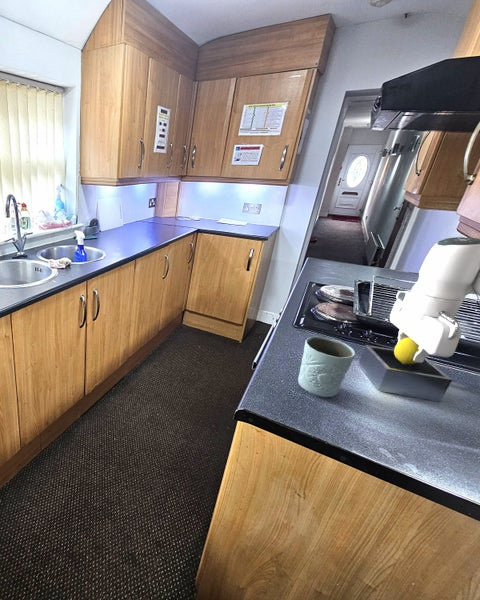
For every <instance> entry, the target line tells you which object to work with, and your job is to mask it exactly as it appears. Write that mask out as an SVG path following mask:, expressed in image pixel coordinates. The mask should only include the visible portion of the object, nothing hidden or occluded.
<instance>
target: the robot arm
mask: <svg viewBox="0 0 480 600" xmlns="http://www.w3.org/2000/svg"><path fill="white" fill-rule="evenodd" d="M468 295H477V296H478V297H480V238H478V237H477V238H476V237H465V236H461V237H460V236H456V237H455V236H454V237H448V238H445V239H440V240H439V241H438V242H436V243H434V245H433V246H432V247H431V249H430V250H429V252H428V254H427V255H426V257H425V258H424V260H423V262H422V265H421V266H420V269H419V272H418V279H417V281H416V283H414V285H413V286H412V287H411V290H409V291H408V290H398V291H397V293H396V297H395V298H396V300H395V302H394V304H393V306H392V309H391V312H390V315H389V321H390V322H389V323H391V324H392V325H393V326H394V327H396V328H397V329H399V331H398V341H397V343H398V342H399V341H400V340H402V339H404V338H408V337H410V338H411V339H412V340H413V341H414V342H416V343H417V344H418V345H419V348H418V349H419V351H418V352H417V353H413V354H412V356H411V358H412V359H413V360H414V361H415V362H420V363H422V362H423V361H424V359H425V357H426V358H427V357H428V356H429V355H430V356H434V357H439V358H450V357H452V356H453V355H454V353H455V352H456V349H457V348H458V347H457V346H458V344H459V341H460V338H461V336H462V329H461V327H460V326H459V320H458V319H457V318H456V316H457V314H458V313H459V310H460V308H461V306H462V304H463V303H464V300H465V299H466V296H468Z"/></svg>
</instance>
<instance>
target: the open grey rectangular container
mask: <svg viewBox="0 0 480 600" xmlns="http://www.w3.org/2000/svg"><path fill="white" fill-rule="evenodd" d="M394 349H395V348H388V347H382V346H381V347H380V346H375V345H374V346H373V345H367V344H365V346H364V349H363V351H362V354H361V356H360V358H359V361H358V362H357V363H358V364H357V366H358V367H359V368H360V369H361V371H362V372H363V374H364V375H365V376H366V378H367V379H368V380H369V381H370V383H372V385H373V386H374V388H375V389H376V390H377V391H379V392H383V393H384V392H385V393H391V394H394V395H401V396H406V397H411V398H417V399H422V400H427V401H432V402H438V403H440V402H442V400H443V397H444V395H445V394H446V392H447V390H448V388H449V386H450V384H451V383H452V381H453V379H452V378H451V377H450V376H448V375H447V374H446V373H445V372H444V371H442V369H440V368H439V367H438V366H437V365H435V364H434V363H433V362H432V361H431V360H430V359H428V358H427V357H425V359H424V361H423V362H422V363H420V362H417V363H414V364H402V363H401V361H399V360H398V359H397V358H396V357H395V354H394Z"/></svg>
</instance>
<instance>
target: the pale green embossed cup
mask: <svg viewBox="0 0 480 600" xmlns="http://www.w3.org/2000/svg"><path fill="white" fill-rule="evenodd" d="M355 357H356V350H355V349H354V348H353V347H351V346H350V345H349V344H347V343H345V342H343V341H340V340H337V339H334V338H330V337H326V336H309V337H308V338H306V339H305V342H304V348H303V354H302V358H301V365H300V369H299V374H298V378H297V383H298V385H299V386H300V387H301V388H302V389H303V390H305V391H307V392H308V393H310V394H312V395H315V396H318V397H323V398H333V397H335V396H336V395H337V394H338V393H339V391H340V389H341V386H342V382H343V381H344V379H345V377H346V374H347V373H348V371H349V369H350V367H351V365H352V363H353V361H354V358H355Z"/></svg>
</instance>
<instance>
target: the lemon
mask: <svg viewBox="0 0 480 600" xmlns="http://www.w3.org/2000/svg"><path fill="white" fill-rule="evenodd" d="M398 341H399V340H398ZM398 341H397V343H396V345H395V346H394V348H393V349H394V354H395V357H396V358H397V359H398V360H399V361H401V363H402V364H414V363H417V362H415V361H414V360H413V359H412V358H411V356H412V354H413V353H417V352H418V351H419V349H418V348H419V345H418V344H417V343H416V342H414V341H413V340H412V339H411V338H410V337H408V338H404V339H402V340H400V341H399V342H398Z"/></svg>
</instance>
